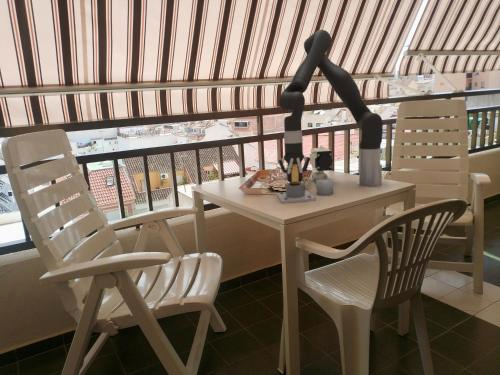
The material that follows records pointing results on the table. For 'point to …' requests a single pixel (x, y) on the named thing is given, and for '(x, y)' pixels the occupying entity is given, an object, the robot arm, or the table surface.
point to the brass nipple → (294, 175)
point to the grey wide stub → (324, 187)
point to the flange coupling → (295, 194)
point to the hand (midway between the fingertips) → (294, 181)
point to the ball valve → (320, 162)
